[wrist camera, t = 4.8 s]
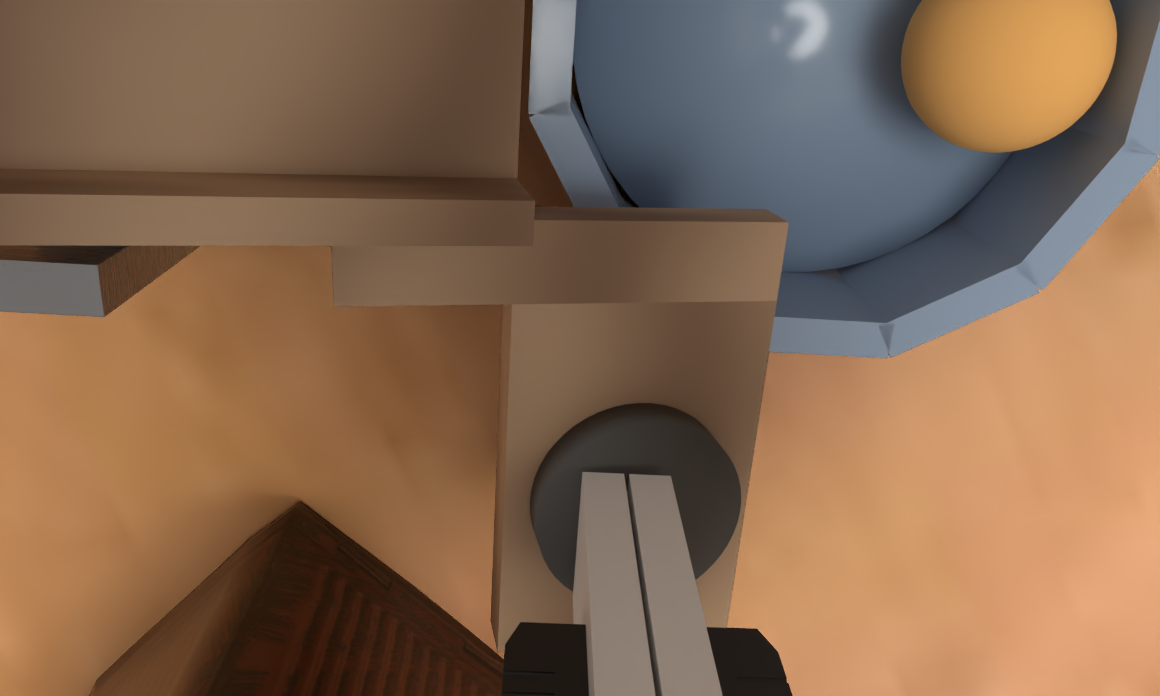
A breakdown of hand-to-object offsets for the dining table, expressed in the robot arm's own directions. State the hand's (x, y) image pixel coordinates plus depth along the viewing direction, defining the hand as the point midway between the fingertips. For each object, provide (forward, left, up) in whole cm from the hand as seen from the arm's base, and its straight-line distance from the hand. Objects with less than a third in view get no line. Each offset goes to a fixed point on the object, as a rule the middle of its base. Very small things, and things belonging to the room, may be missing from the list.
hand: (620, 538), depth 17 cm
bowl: (-9, +4, -8) cm, 12 cm away
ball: (-9, +8, -5) cm, 13 cm away
